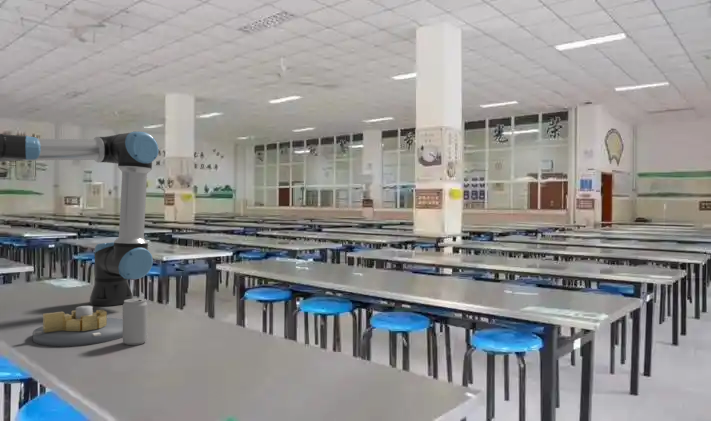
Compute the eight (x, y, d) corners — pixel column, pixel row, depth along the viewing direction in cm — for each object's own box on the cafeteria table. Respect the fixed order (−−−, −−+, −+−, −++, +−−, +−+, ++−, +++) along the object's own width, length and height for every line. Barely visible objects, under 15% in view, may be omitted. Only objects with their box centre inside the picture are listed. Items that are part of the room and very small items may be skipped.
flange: (115, 320, 177) (115, 296, 177) (145, 335, 158) (145, 308, 158) (24, 332, 160) (24, 305, 160) (44, 351, 140) (44, 321, 140)
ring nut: (98, 320, 167) (98, 304, 167) (110, 327, 158) (110, 310, 158) (39, 328, 156) (39, 311, 156) (48, 335, 148) (48, 317, 147)
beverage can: (138, 346, 146) (138, 302, 146) (117, 345, 147) (117, 301, 147) (152, 340, 152) (152, 298, 152) (131, 339, 154) (131, 297, 153)
